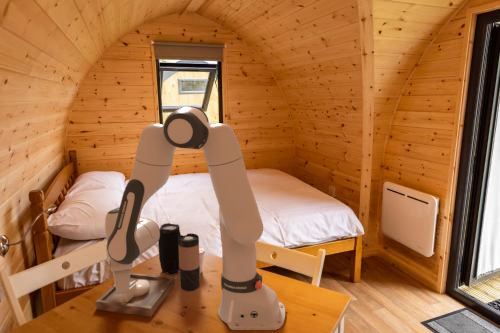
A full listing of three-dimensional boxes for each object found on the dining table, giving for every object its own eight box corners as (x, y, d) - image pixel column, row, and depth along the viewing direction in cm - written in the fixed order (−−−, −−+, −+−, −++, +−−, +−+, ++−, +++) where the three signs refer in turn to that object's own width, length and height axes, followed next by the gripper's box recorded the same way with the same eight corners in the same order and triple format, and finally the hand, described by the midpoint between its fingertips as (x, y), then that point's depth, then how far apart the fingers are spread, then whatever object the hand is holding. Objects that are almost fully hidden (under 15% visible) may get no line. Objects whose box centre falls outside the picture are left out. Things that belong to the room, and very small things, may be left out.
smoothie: (203, 275, 137) (203, 243, 134) (188, 275, 137) (187, 243, 134) (206, 268, 143) (205, 237, 141) (191, 268, 143) (190, 237, 141)
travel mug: (196, 292, 125) (194, 242, 121) (176, 290, 127) (174, 240, 123) (203, 282, 132) (201, 234, 129) (184, 280, 134) (182, 232, 130)
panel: (175, 284, 131) (175, 276, 130) (151, 316, 111) (150, 307, 111) (127, 279, 134) (127, 271, 134) (96, 309, 115) (95, 300, 114)
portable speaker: (160, 266, 144) (158, 223, 141) (182, 264, 146) (181, 221, 143) (159, 276, 136) (156, 230, 133) (182, 274, 138) (181, 229, 134)
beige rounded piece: (135, 283, 127) (134, 272, 126) (153, 286, 125) (153, 276, 124) (114, 300, 116) (114, 288, 116) (134, 304, 114) (134, 292, 113)
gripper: (110, 242, 122) (112, 277, 125) (110, 269, 104) (113, 309, 107) (129, 240, 125) (130, 274, 128) (132, 266, 106) (134, 305, 109)
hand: (122, 290), depth 117 cm, fingers closed, pressing on beige rounded piece
